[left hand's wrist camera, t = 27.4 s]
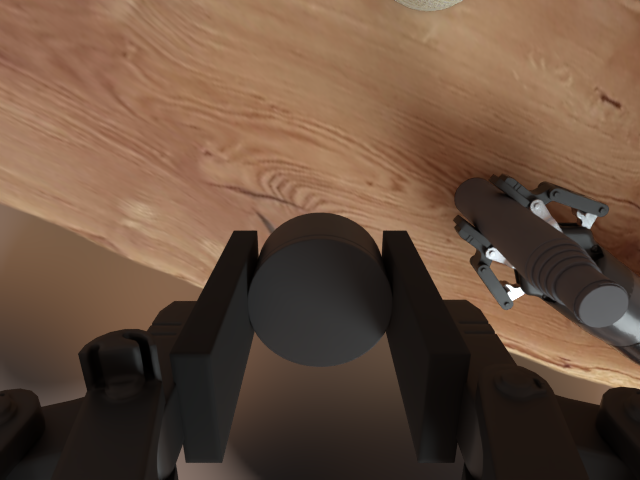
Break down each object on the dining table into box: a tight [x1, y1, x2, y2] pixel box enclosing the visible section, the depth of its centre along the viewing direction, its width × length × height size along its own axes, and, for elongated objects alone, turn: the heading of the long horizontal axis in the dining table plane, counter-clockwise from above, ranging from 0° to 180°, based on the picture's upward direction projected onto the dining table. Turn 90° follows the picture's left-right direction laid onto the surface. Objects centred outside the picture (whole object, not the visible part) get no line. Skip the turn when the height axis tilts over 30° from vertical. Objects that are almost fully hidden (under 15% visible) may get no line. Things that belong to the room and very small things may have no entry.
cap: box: [248, 213, 393, 367], centre depth 13 cm, size 4×4×2 cm
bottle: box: [455, 178, 629, 328], centre depth 37 cm, size 4×4×24 cm
